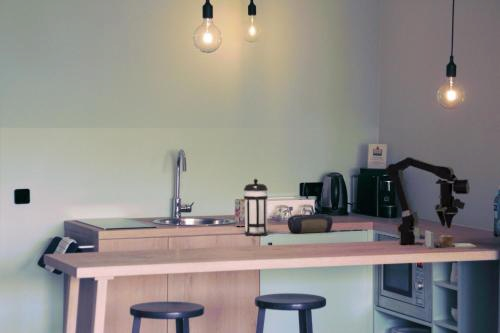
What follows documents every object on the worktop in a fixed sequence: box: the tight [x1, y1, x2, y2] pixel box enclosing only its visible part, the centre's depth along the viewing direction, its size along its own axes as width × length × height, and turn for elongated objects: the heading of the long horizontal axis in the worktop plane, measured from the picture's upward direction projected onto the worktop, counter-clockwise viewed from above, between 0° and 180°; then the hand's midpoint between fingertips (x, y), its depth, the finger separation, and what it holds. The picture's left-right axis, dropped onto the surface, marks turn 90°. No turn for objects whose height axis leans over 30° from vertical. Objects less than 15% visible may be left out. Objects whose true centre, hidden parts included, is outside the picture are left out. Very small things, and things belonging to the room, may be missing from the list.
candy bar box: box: [234, 198, 245, 223], centre depth 478 cm, size 11×5×16 cm, turn 130°
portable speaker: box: [287, 213, 333, 235], centre depth 443 cm, size 25×10×10 cm, turn 109°
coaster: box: [453, 242, 477, 249], centre depth 379 cm, size 9×9×1 cm
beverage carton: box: [396, 223, 421, 240], centre depth 421 cm, size 8×19×7 cm, turn 1°
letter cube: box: [439, 234, 454, 248], centre depth 379 cm, size 5×5×5 cm
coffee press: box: [243, 178, 269, 237], centre depth 431 cm, size 17×16×30 cm
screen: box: [423, 230, 436, 249], centre depth 379 cm, size 3×11×7 cm, turn 2°
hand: (446, 226), depth 379 cm, fingers open, 9 cm apart
